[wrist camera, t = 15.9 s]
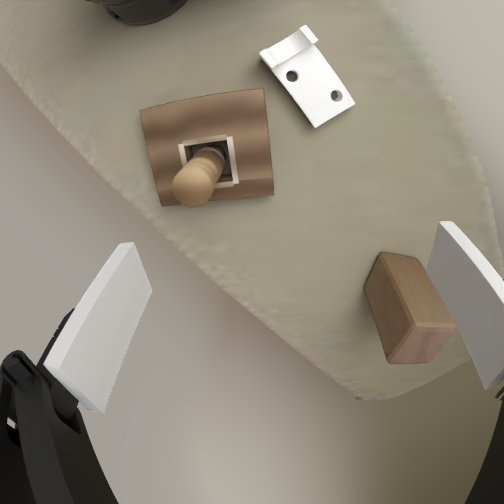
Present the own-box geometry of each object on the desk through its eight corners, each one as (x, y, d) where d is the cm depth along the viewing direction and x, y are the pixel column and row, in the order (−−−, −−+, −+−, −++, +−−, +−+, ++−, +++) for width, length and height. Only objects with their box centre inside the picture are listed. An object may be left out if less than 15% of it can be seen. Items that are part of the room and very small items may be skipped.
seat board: (149, 107, 39) (139, 110, 36) (263, 88, 37) (263, 88, 34) (169, 196, 48) (161, 206, 44) (273, 185, 46) (274, 195, 42)
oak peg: (195, 143, 42) (167, 171, 31) (226, 139, 42) (208, 165, 30) (200, 172, 45) (176, 209, 34) (230, 169, 45) (216, 205, 33)
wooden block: (361, 288, 57) (385, 366, 40) (379, 249, 51) (416, 326, 35) (399, 292, 57) (429, 365, 41) (418, 256, 52) (460, 327, 35)
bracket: (260, 57, 35) (258, 52, 28) (299, 34, 32) (305, 24, 26) (311, 124, 40) (320, 133, 34) (349, 101, 37) (364, 106, 31)
